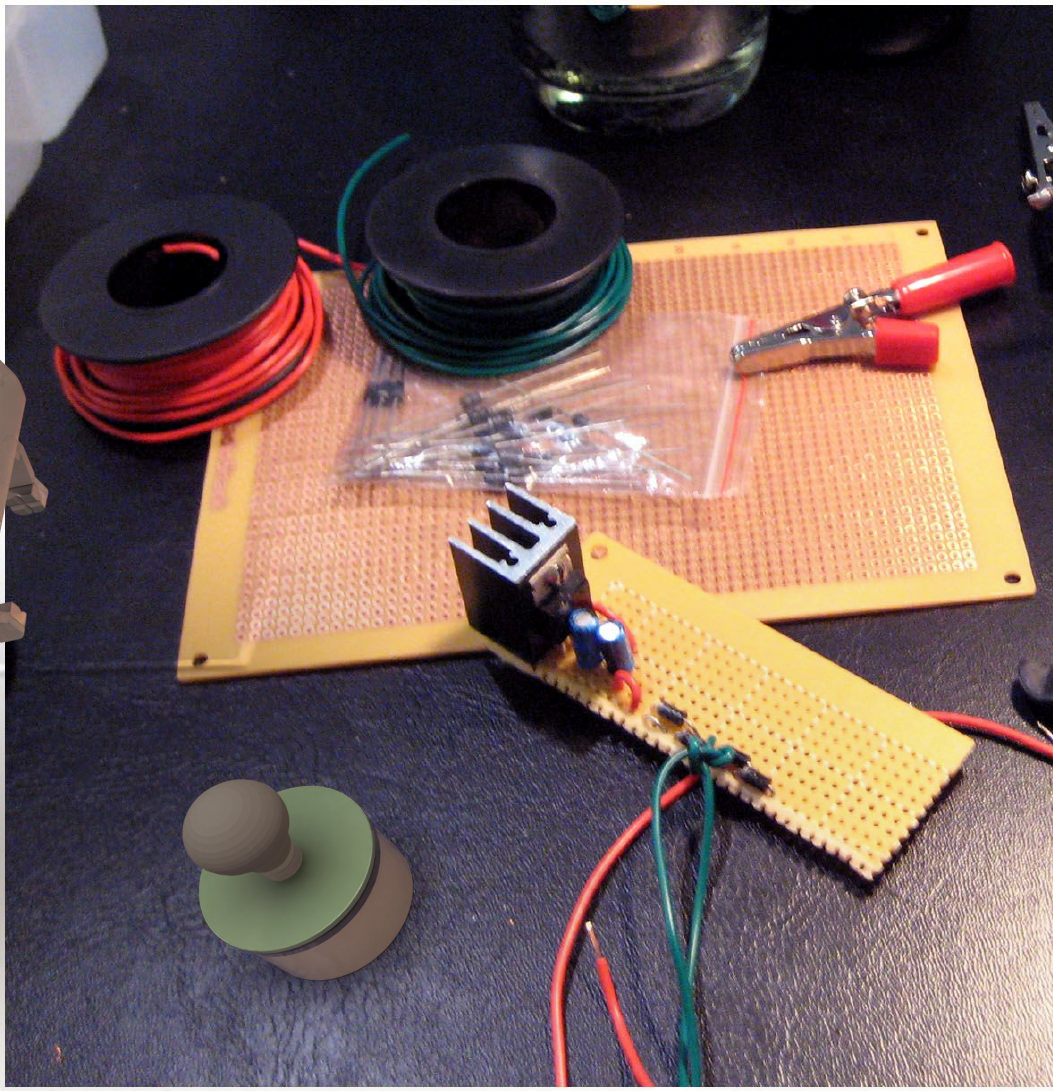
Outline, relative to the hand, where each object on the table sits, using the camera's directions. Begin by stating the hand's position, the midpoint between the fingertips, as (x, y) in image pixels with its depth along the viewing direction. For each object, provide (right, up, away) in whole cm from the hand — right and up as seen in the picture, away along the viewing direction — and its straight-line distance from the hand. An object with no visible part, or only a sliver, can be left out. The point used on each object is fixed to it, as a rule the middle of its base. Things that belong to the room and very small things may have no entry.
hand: (24, 565), depth 73 cm
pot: (+11, -25, +16) cm, 32 cm away
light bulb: (+11, -21, +9) cm, 25 cm away
